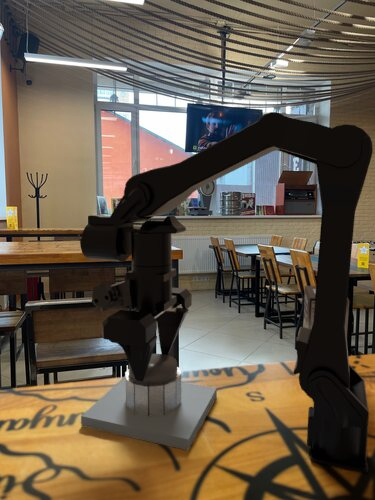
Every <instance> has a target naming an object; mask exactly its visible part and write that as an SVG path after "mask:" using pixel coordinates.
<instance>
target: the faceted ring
mask: <svg viewBox="0 0 375 500" xmlns="http://www.w3.org/2000/svg"><path fill="white" fill-rule="evenodd" d="M124 374H125V375H124V377H125V383H126V407H127V409H129V410H130V411H131V412H132V413H134V414H136V415H141V416H146V417H148V416H149V417H154V416H163V415H166V414H168V413H170V412H173V411H175V410H176V409H177V408H178V407H179V405H180V404H181V382H182V371H181V370H180V367H179V366H177V375H176V377H175V378H174V379H172V380H171V381H168V382H166V383H162V384H155V385H147V384H141V383H137V382H135V381H133V380H132V379H131V378H130V377H129V368H128V369H127V370H126V371H125V372H124Z"/></svg>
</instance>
